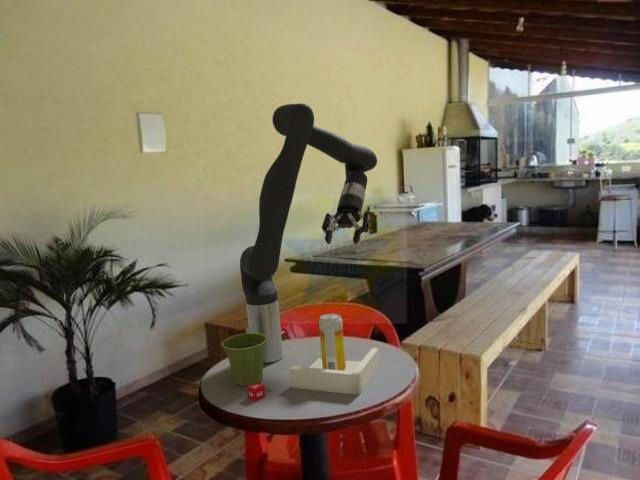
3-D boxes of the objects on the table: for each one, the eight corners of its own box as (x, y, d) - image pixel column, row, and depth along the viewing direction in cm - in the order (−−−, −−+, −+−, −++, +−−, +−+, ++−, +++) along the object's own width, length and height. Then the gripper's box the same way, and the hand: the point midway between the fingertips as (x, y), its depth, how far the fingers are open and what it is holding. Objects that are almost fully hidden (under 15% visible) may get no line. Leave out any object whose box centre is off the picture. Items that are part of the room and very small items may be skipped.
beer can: (346, 366, 135) (342, 312, 133) (345, 375, 129) (341, 319, 127) (324, 367, 136) (319, 313, 134) (322, 376, 130) (317, 320, 128)
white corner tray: (291, 387, 127) (289, 368, 126) (318, 360, 143) (317, 344, 142) (359, 395, 120) (357, 375, 119) (379, 366, 136) (378, 348, 135)
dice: (258, 394, 125) (257, 382, 124) (265, 397, 122) (264, 385, 122) (248, 398, 123) (247, 386, 122) (255, 401, 120) (254, 390, 120)
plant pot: (221, 378, 136) (216, 338, 134) (263, 368, 140) (259, 330, 139) (232, 395, 125) (227, 352, 123) (277, 384, 129) (273, 342, 128)
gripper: (326, 193, 157) (314, 235, 149) (370, 191, 152) (360, 234, 143) (334, 208, 163) (323, 250, 154) (376, 207, 157) (367, 249, 148)
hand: (341, 242), depth 148 cm, fingers open, 8 cm apart
